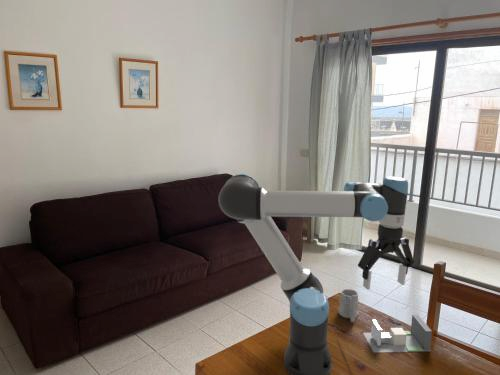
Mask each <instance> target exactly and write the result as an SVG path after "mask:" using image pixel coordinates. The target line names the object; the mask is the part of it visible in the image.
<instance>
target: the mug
mask: <svg viewBox="0 0 500 375" xmlns="http://www.w3.org/2000/svg"><path fill="white" fill-rule="evenodd" d="M359 303H360V302H359V293H358V292H357V290H354V289H352V288H351V289H350V288H349V289H348V288H346V289H342V290H341V292H340V297H339V308H338V311H337V312H338V314H339V315H340V316H341V317H343V318H346V319H350V323H355V320H356V318H357V317H359V315H360V314H359Z"/></svg>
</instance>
